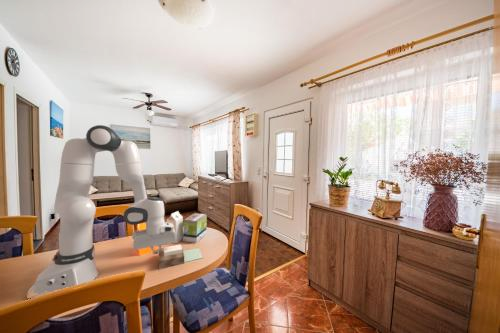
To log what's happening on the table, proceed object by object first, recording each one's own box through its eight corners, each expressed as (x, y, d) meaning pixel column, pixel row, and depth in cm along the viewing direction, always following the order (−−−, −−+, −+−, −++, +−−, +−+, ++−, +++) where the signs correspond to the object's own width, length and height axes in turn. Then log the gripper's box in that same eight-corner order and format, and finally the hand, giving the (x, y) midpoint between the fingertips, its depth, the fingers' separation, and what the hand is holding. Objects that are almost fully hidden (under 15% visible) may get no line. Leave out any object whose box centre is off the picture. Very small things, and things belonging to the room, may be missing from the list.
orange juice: (157, 250, 112) (156, 217, 111) (140, 255, 107) (139, 221, 105) (154, 245, 118) (153, 214, 117) (137, 250, 113) (136, 217, 111)
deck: (159, 269, 94) (158, 261, 94) (158, 255, 107) (158, 248, 107) (184, 263, 100) (184, 256, 100) (181, 250, 112) (181, 244, 112)
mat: (184, 262, 101) (184, 261, 101) (181, 251, 111) (181, 251, 111) (202, 258, 105) (202, 257, 105) (198, 248, 116) (198, 247, 116)
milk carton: (167, 241, 123) (166, 213, 122) (174, 237, 130) (173, 210, 129) (176, 243, 121) (175, 214, 120) (183, 238, 128) (182, 211, 127)
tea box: (197, 243, 122) (197, 220, 121) (183, 241, 124) (182, 219, 123) (207, 233, 137) (206, 213, 136) (194, 232, 139) (194, 212, 138)
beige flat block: (164, 256, 99) (164, 252, 99) (163, 251, 104) (163, 247, 104) (182, 252, 103) (182, 249, 103) (181, 247, 108) (180, 244, 108)
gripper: (131, 233, 91) (132, 261, 92) (176, 227, 101) (177, 252, 102) (132, 229, 97) (133, 255, 98) (175, 222, 106) (175, 246, 107)
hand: (156, 253), depth 100 cm, fingers closed
